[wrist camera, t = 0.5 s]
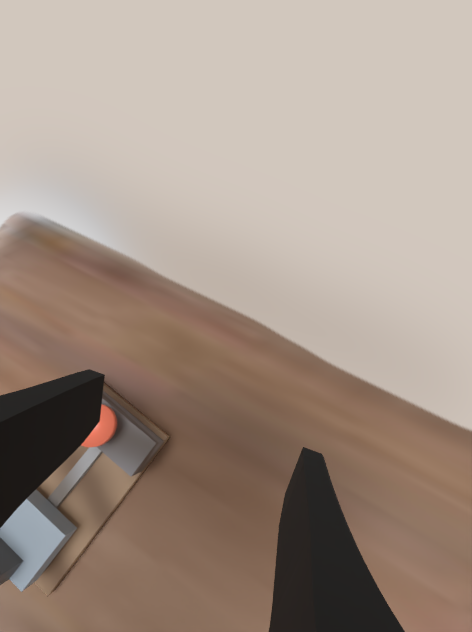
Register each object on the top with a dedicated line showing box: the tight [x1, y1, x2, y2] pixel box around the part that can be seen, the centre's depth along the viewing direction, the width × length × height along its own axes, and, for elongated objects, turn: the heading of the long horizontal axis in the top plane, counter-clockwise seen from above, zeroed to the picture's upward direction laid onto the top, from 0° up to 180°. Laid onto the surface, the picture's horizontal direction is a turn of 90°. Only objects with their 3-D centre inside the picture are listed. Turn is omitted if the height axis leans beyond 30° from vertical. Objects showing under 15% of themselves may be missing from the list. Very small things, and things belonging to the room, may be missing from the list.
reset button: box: [81, 405, 117, 447], centre depth 30 cm, size 4×4×1 cm
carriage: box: [0, 490, 77, 592], centre depth 29 cm, size 5×7×6 cm
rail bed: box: [34, 383, 170, 597], centre depth 33 cm, size 17×10×5 cm, turn 143°
